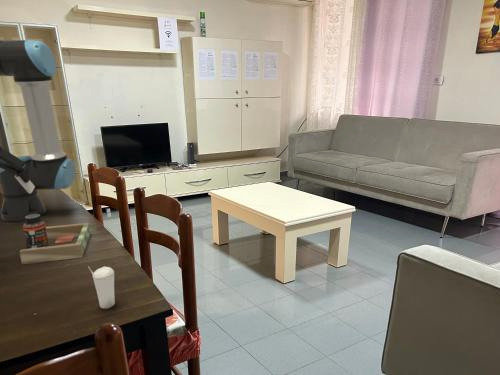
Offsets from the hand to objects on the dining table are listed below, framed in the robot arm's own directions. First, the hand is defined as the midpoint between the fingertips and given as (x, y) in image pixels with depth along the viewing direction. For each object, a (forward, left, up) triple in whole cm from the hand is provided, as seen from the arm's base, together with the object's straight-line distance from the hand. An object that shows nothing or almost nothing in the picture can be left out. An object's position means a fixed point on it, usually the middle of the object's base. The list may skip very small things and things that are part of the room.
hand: (10, 194), depth 105 cm
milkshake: (+35, +27, -20) cm, 48 cm away
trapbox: (-3, +10, -19) cm, 22 cm away
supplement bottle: (-3, +4, -20) cm, 20 cm away
